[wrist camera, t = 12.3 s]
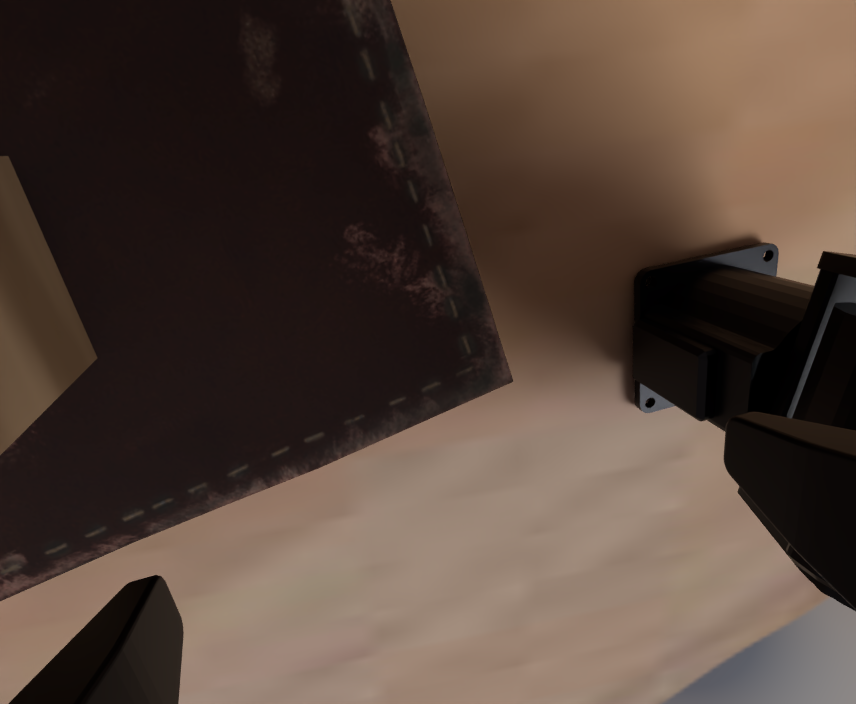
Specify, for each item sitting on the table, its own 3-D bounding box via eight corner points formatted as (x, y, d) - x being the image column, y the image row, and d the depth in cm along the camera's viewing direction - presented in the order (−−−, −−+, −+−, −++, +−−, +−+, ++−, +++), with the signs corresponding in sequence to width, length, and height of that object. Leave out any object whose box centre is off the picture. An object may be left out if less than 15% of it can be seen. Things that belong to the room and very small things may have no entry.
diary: (-717, 92, 13) (-1312, 46, 8) (276, -218, 15) (267, -394, 10) (-137, 619, 20) (-270, 758, 15) (474, 354, 22) (522, 404, 17)
